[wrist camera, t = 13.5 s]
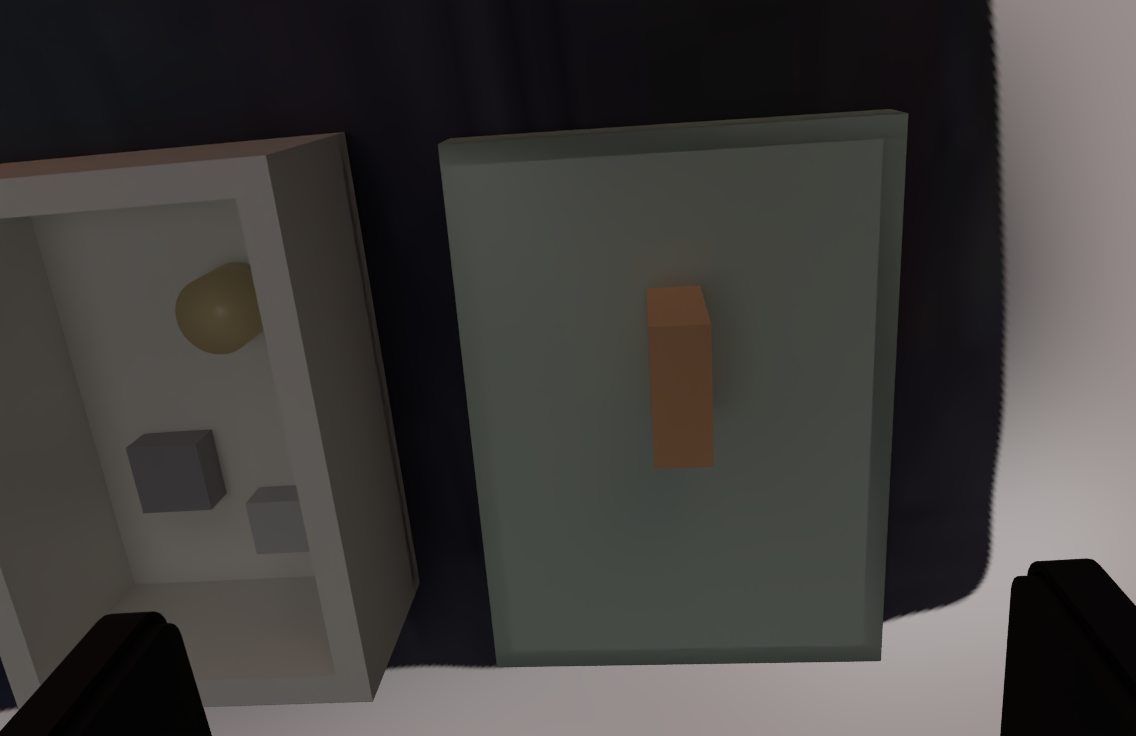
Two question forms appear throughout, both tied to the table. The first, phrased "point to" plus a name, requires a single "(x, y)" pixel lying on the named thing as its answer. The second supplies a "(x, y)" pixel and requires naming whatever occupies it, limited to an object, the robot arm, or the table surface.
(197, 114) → the table surface
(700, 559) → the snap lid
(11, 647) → the parts tub
